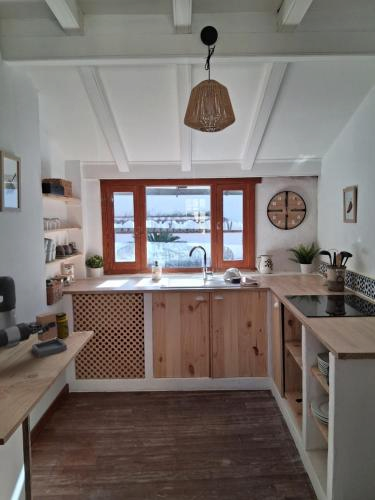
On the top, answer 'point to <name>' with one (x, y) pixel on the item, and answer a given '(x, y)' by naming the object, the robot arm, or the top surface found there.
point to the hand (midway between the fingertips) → (51, 323)
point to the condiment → (62, 325)
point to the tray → (49, 347)
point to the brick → (47, 319)
